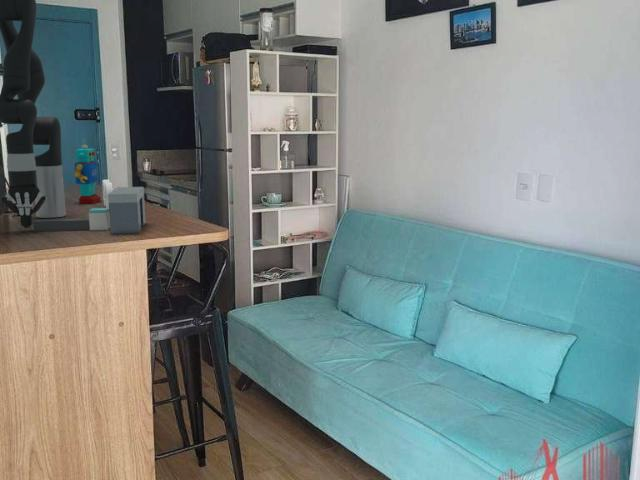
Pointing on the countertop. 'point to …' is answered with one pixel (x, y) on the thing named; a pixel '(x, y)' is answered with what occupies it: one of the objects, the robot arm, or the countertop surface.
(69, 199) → the countertop surface
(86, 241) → the countertop surface
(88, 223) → the plug
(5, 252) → the countertop surface
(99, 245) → the countertop surface
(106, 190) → the letter
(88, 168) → the toy robot
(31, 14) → the robot arm
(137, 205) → the housing
